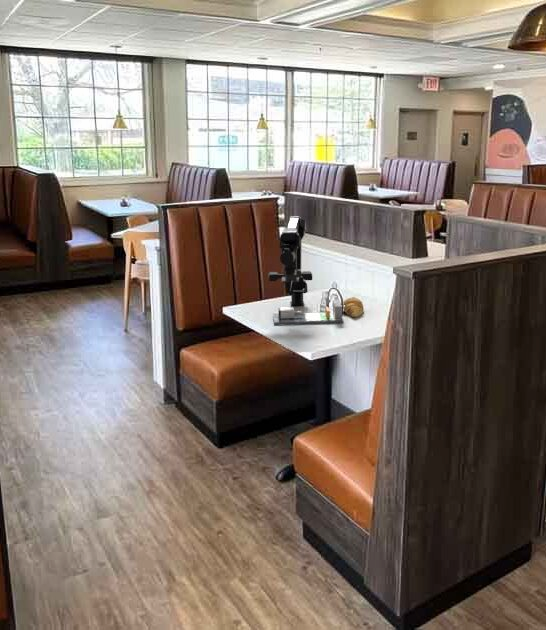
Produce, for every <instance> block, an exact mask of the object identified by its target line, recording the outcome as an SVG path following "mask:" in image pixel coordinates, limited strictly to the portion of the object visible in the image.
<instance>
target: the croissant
mask: <svg viewBox="0 0 546 630" xmlns="http://www.w3.org/2000/svg"><path fill="white" fill-rule="evenodd" d="M342 303H344V305H345V312H346V313H347V315H348V316H350V317H351V318H358V317H360V316H361V315H362V314H363V313H364V304H363V302H362V301H361V299H359V298H356V297H353V296H352V297H349V298H346V299H344V301H343V302H342ZM346 313H345V314H346Z"/></svg>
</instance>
